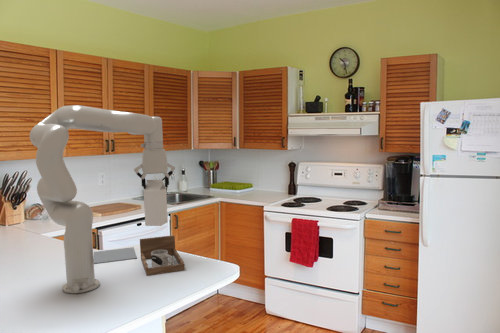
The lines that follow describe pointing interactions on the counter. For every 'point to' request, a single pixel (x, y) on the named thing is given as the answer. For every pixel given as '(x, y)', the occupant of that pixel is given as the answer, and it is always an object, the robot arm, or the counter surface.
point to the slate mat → (114, 255)
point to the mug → (160, 258)
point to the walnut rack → (160, 244)
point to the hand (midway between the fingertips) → (155, 187)
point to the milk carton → (155, 203)
